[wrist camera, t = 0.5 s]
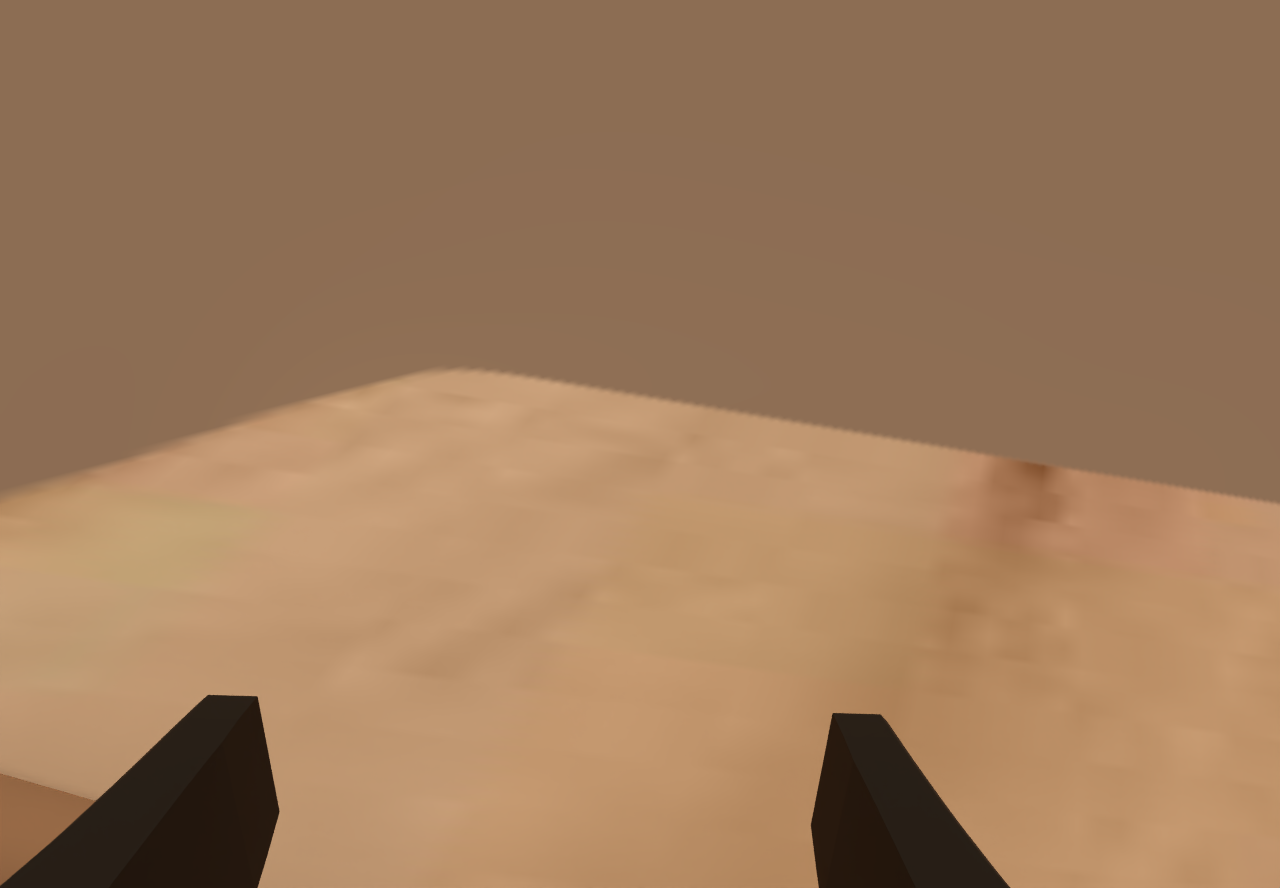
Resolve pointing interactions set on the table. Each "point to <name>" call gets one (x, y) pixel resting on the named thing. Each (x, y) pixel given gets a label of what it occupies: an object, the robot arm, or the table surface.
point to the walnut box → (32, 820)
